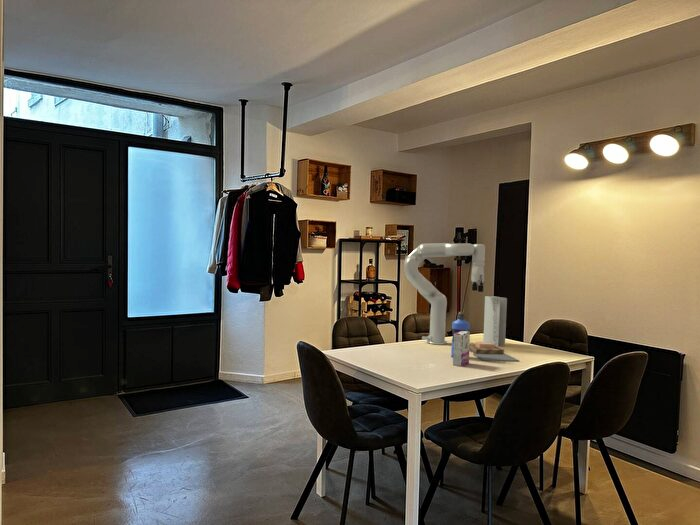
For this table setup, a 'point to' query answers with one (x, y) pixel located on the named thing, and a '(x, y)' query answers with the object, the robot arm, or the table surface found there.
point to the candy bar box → (461, 348)
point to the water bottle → (459, 327)
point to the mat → (495, 357)
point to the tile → (484, 344)
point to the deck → (485, 350)
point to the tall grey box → (495, 320)
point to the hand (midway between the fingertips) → (477, 291)
